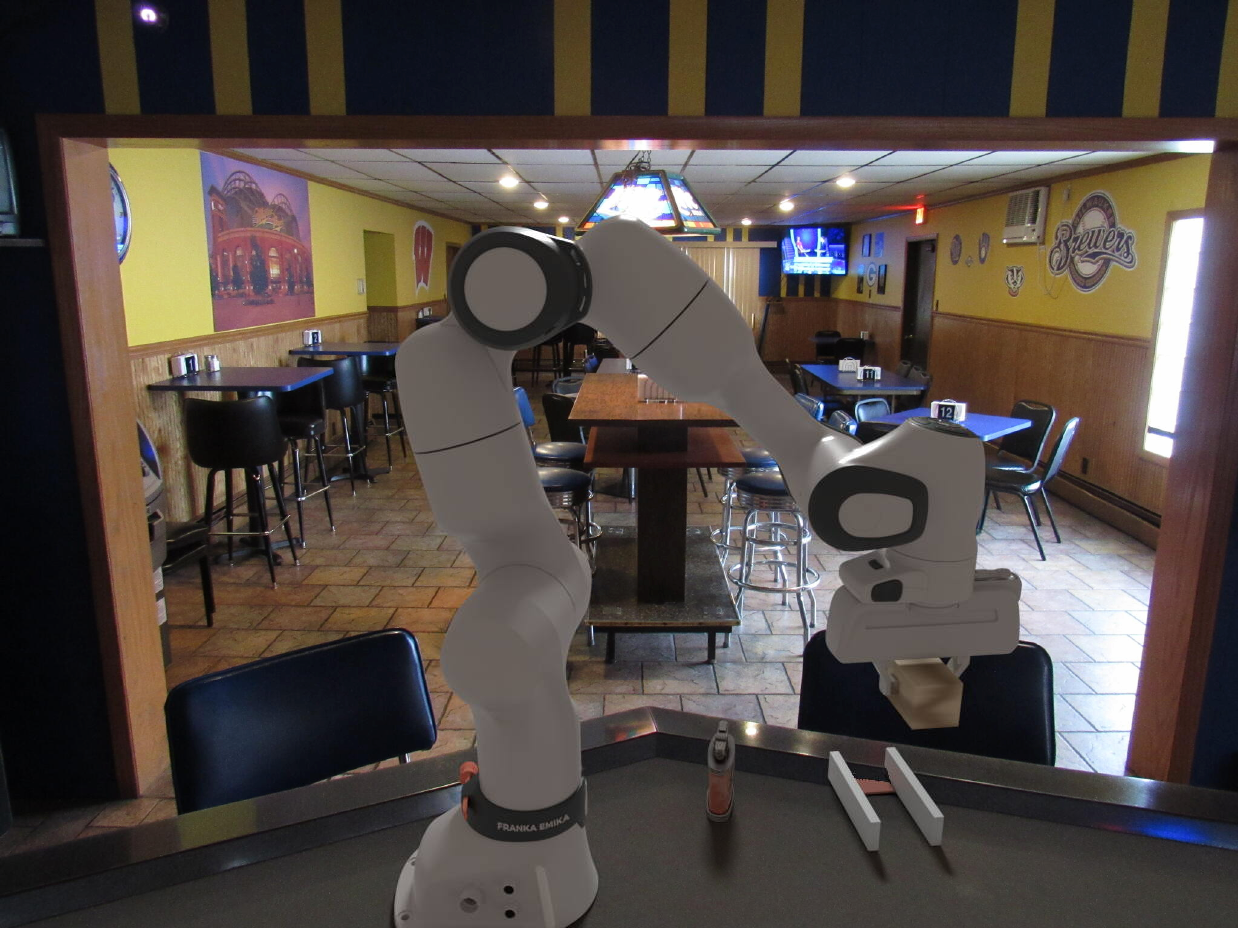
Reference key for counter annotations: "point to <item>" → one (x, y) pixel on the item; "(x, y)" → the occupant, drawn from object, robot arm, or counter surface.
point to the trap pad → (874, 786)
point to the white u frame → (905, 788)
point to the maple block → (926, 693)
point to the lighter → (720, 774)
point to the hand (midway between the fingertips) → (916, 690)
